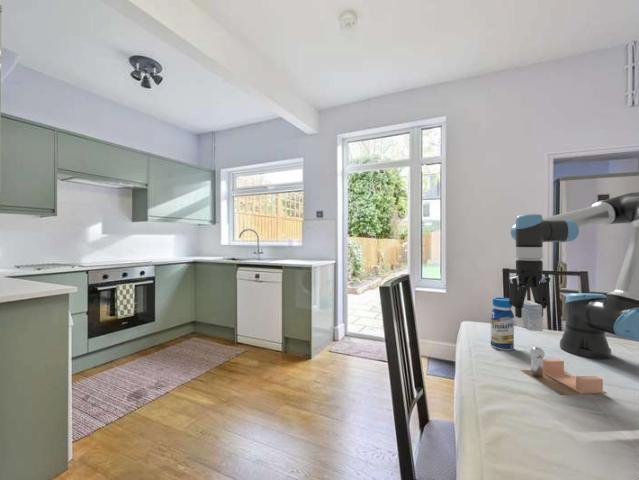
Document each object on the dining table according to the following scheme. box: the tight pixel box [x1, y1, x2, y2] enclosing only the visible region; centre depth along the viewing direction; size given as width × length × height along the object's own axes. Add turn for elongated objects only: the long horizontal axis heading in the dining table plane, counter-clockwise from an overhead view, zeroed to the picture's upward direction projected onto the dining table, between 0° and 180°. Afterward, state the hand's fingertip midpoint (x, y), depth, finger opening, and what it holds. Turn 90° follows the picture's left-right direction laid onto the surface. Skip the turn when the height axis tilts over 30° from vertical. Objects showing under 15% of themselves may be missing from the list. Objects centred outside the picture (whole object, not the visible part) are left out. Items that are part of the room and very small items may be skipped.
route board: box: [520, 369, 607, 396], centre depth 89 cm, size 14×15×1 cm
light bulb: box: [529, 346, 545, 378], centre depth 92 cm, size 4×4×9 cm
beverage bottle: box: [489, 296, 515, 351], centre depth 119 cm, size 8×8×20 cm
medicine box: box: [523, 299, 544, 332], centre depth 100 cm, size 8×4×9 cm, turn 170°
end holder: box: [543, 358, 605, 395], centre depth 88 cm, size 7×14×4 cm, turn 4°
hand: (529, 326), depth 100 cm, fingers closed on medicine box, 5 cm apart
